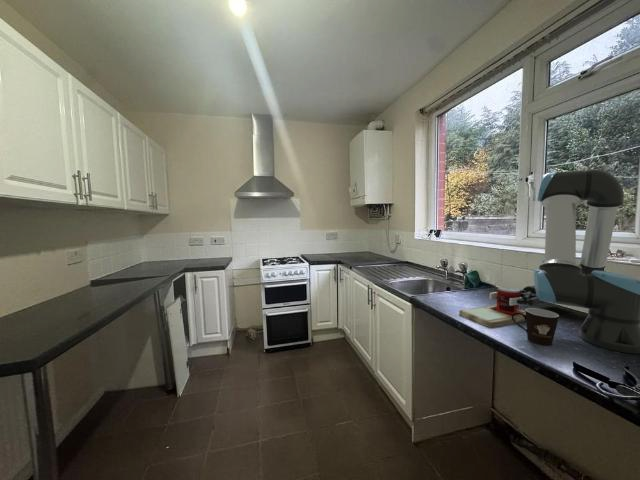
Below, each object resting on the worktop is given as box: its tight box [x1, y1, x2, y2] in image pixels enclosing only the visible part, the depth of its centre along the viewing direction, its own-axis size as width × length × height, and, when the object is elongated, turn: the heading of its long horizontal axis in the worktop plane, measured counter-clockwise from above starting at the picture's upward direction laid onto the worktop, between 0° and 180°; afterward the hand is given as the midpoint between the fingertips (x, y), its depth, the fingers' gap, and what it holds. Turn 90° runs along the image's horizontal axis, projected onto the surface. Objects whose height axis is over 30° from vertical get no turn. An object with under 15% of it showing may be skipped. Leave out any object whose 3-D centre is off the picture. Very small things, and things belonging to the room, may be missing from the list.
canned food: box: [496, 286, 521, 316], centre depth 112 cm, size 8×8×11 cm
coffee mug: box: [512, 307, 560, 347], centre depth 90 cm, size 12×9×10 cm
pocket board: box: [458, 304, 526, 329], centre depth 111 cm, size 14×26×2 cm, turn 110°
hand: (500, 299), depth 110 cm, fingers closed on canned food, 8 cm apart
